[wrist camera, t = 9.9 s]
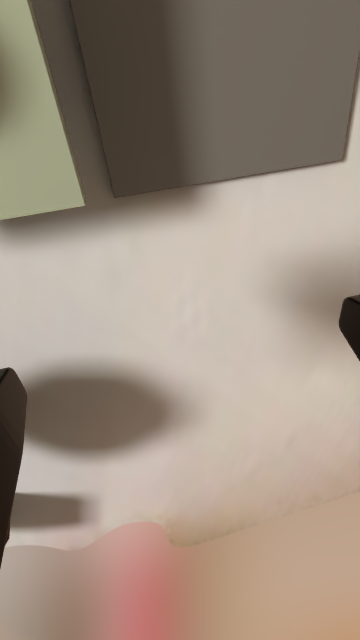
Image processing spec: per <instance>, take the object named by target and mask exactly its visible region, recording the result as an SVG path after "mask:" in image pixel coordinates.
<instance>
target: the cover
mask: <svg viewBox="0 0 360 640" xmlns="http://www.w3.org/2000/svg"><path fill="white" fill-rule="evenodd" d="M85 204H86V198H85V194H84V191H83V187H82V183H81V180H80V176H79V173H78V169H77V165H76V162H75V158H74V155H73V151H72V147H71V144H70V140H69V137H68V133H67V129H66V126H65V122H64V119H63V115H62V111H61V108H60V104H59V101H58V97H57V93H56V90H55V86H54V83H53V79H52V75H51V72H50V68H49V64H48V61H47V57H46V54H45V50H44V46H43V43H42V39H41V36H40V32H39V28H38V25H37V21H36V18H35V14H34V10H33V7H32V3H31V0H0V220H3V219H9V218H15V217H21V216H27V215H33V214H39V213H45V212H51V211H57V210H63V209H69V208H75V207H81V206H85Z"/></svg>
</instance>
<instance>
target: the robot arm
mask: <svg viewBox="0 0 360 640" xmlns="http://www.w3.org/2000/svg"><path fill="white" fill-rule="evenodd" d="M339 328H340V330H341V332H342V334H343V335H344V337H345V338H346V340H347V342H348V343H349V345H350V346H351V348H352V350H353V351H354V353H355V354H356V356H357V358H358V359H359V361H360V295H356V296H351V297H347V298H345V299H344V301H343V304H342V309H341V314H340V318H339ZM26 404H27V394H26V390H25V388H24V386H23V384H22V383H21V381H20V379H19V377H18V376H17V374H16V372H15V371H14V370H13V369H12V368H9V367H8V368H3V369H0V567H1V562H2V557H3V552H4V547H5V542H6V537H7V531H8V526H9V521H10V516H11V511H12V506H13V501H14V496H15V490H16V485H17V480H18V475H19V470H20V465H21V459H22V453H23V444H24V431H25V417H26Z"/></svg>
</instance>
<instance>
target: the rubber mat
mask: <svg viewBox="0 0 360 640" xmlns="http://www.w3.org/2000/svg"><path fill="white" fill-rule="evenodd" d="M70 3H71V7H72V12H73V16H74V21H75V25H76V29H77V34H78V38H79V43H80V47H81V51H82V56H83V60H84V65H85V69H86V73H87V78H88V82H89V87H90V91H91V95H92V100H93V104H94V109H95V113H96V117H97V122H98V126H99V131H100V135H101V139H102V144H103V148H104V153H105V157H106V161H107V166H108V170H109V175H110V179H111V183H112V188H113V192H114V197H115V198H117V197H123V196H129V195H135V194H141V193H147V192H153V191H159V190H165V189H171V188H177V187H183V186H189V185H195V184H201V183H207V182H213V181H219V180H225V179H231V178H237V177H243V176H249V175H255V174H260V173H266V172H272V171H278V170H284V169H290V168H296V167H302V166H308V165H314V164H320V163H326V162H332V161H338V160H342V157H343V151H344V145H345V139H346V132H347V126H348V120H349V114H350V107H351V101H352V95H353V89H354V82H355V76H356V70H357V64H358V57H359V51H360V0H70Z"/></svg>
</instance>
